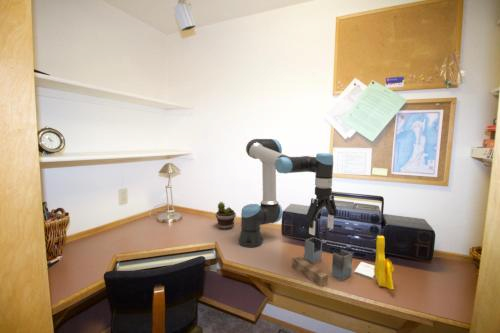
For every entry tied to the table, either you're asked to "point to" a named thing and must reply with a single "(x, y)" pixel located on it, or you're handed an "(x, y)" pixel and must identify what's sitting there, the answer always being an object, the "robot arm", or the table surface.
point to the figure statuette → (383, 266)
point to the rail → (310, 271)
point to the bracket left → (313, 250)
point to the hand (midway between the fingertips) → (321, 231)
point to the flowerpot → (225, 217)
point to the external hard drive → (365, 270)
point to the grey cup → (342, 265)
